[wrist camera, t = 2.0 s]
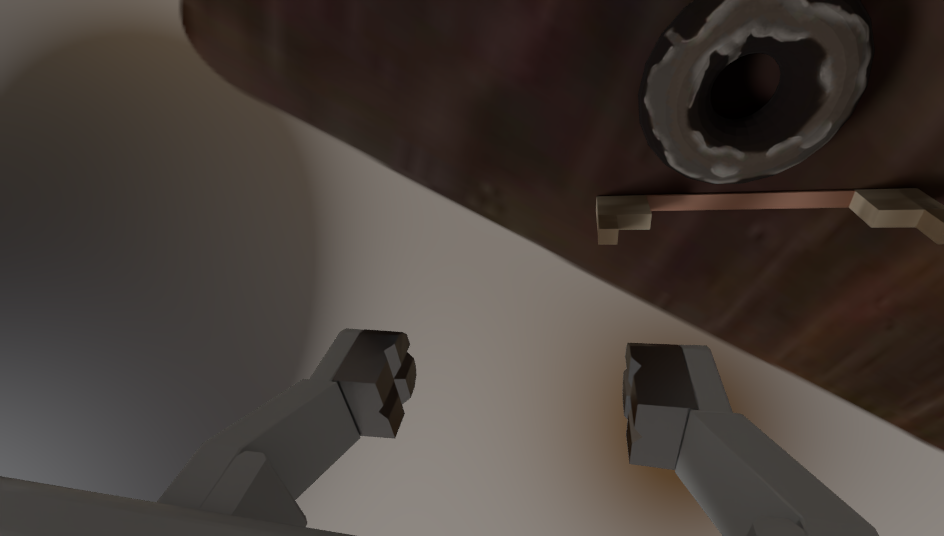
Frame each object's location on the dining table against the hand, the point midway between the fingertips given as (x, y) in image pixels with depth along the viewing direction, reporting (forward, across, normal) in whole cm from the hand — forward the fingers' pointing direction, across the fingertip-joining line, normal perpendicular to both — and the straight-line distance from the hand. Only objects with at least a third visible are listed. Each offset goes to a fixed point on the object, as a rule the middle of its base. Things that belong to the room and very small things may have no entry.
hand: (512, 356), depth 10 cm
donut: (+25, -11, 0) cm, 27 cm away
